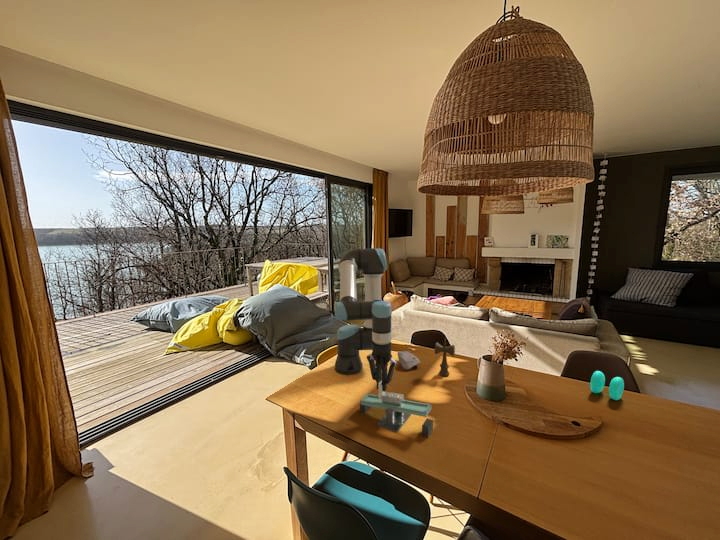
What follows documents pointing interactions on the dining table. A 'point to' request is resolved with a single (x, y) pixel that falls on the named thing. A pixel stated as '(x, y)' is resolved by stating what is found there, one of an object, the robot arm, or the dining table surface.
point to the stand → (398, 421)
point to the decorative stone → (407, 360)
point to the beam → (407, 407)
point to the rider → (393, 399)
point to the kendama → (444, 356)
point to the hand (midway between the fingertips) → (381, 397)
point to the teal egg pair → (614, 388)
